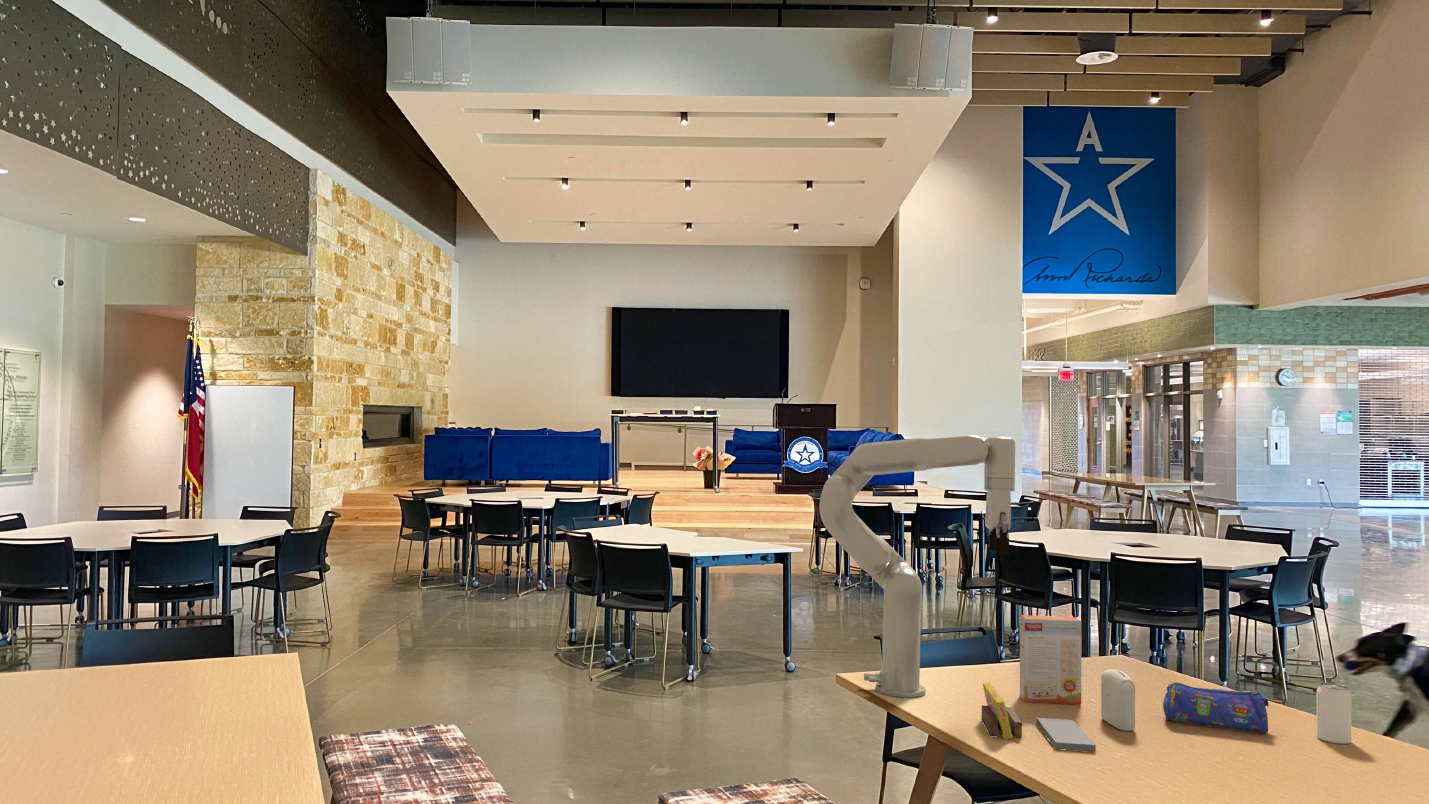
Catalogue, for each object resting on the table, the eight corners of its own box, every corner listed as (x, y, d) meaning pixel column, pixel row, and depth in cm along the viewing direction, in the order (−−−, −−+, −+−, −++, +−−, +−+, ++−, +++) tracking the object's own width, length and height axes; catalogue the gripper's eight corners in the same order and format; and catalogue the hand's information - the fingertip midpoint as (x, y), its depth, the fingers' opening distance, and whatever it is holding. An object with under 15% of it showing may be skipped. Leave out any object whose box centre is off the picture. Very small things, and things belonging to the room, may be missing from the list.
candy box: (988, 718, 214) (982, 682, 215) (998, 717, 214) (991, 681, 215) (1003, 740, 198) (995, 701, 199) (1013, 738, 198) (1005, 700, 199)
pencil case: (1268, 729, 213) (1268, 687, 213) (1273, 740, 205) (1273, 696, 206) (1162, 715, 222) (1162, 675, 222) (1163, 725, 214) (1163, 683, 215)
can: (1346, 737, 208) (1346, 684, 208) (1355, 746, 202) (1355, 691, 202) (1313, 734, 210) (1312, 680, 210) (1321, 742, 204) (1321, 687, 204)
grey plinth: (1055, 749, 193) (1055, 742, 193) (1036, 724, 211) (1036, 717, 211) (1095, 752, 192) (1095, 745, 192) (1072, 726, 210) (1072, 720, 210)
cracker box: (1074, 699, 234) (1075, 616, 235) (1081, 705, 228) (1082, 620, 229) (1018, 696, 235) (1019, 613, 236) (1023, 702, 229) (1025, 617, 230)
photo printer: (1098, 718, 217) (1098, 665, 218) (1116, 718, 218) (1116, 665, 218) (1119, 731, 207) (1119, 676, 208) (1137, 732, 207) (1138, 676, 208)
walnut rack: (990, 736, 200) (990, 720, 201) (981, 720, 212) (981, 705, 212) (1021, 738, 200) (1022, 722, 200) (1010, 722, 211) (1011, 707, 212)
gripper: (978, 483, 245) (977, 548, 244) (990, 485, 228) (989, 555, 227) (1007, 484, 244) (1006, 549, 243) (1021, 486, 227) (1020, 556, 226)
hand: (998, 552), depth 235 cm, fingers open, 9 cm apart
